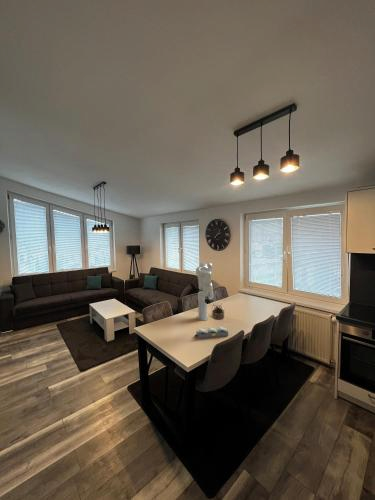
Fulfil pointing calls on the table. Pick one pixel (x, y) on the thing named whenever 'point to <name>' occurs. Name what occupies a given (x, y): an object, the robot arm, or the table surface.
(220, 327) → the rocker
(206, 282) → the robot arm
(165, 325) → the table surface
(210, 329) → the rocker
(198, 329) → the rocker
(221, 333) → the power strip
